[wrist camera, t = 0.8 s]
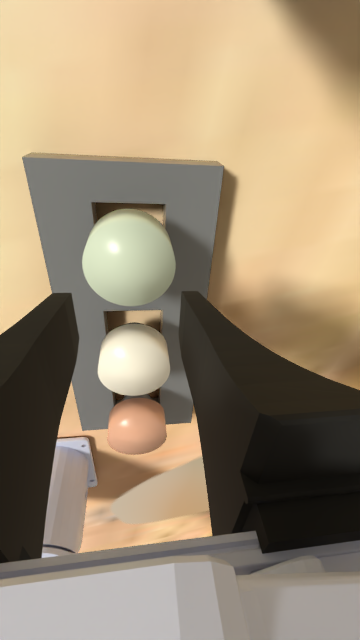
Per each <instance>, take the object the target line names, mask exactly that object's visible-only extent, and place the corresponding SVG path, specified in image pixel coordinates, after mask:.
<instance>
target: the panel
mask: <svg viewBox="0 0 360 640" xmlns="http://www.w3.org/2000/svg"><path fill="white" fill-rule="evenodd" d="M22 159H23V163H24V168H25V172H26V177H27V181H28V186H29V190H30V195H31V199H32V204H33V208H34V213H35V218H36V222H37V227H38V231H39V236H40V240H41V245H42V249H43V254H44V258H45V263H46V267H47V272H48V276H49V281H50V286H51V290H52V294H53V293H72V299H73V305H74V310H75V316H76V322H77V327H78V333H79V346H78V354H77V361H76V365H75V369H74V373H73V376H72V380H71V381H72V385H73V390H74V394H75V399H76V403H77V408H78V412H79V417H80V421H81V426H82V431H85V430H98V429H108V424H109V414H110V411H111V409H112V408H113V407H114V406H115V405H116V404H118V403H119V402H121V401H123V400H116V399H115V392H113V391H111V390H109V389H108V388H106V387H105V386H104V385H103V384H102V382H101V381H100V379H99V377H98V364H99V356H100V349H101V344H102V341H103V339H104V337H105V336H106V335H107V334H108V333H109V332H108V322H107V312H106V311H130V310H161V325H160V333H161V334H162V335H163V337H164V338H165V340H166V343H167V349H168V356H169V363H170V374H169V377H168V379H167V380H166V382H165V383H164V384H163V385H162V386H161V387H160V388H159V397H157V398H151V400H154V401H156V402H158V403H159V404H160V405H161V406H162V407H163V409H164V414H165V424H179V423H191V419H192V411H193V400H192V396H191V392H190V388H189V385H188V381H187V377H186V373H185V369H184V366H183V362H182V358H181V351H180V343H179V320H180V306H181V291H198V292H199V293H200V294H201V295H202V296H203V297H204V298H205V299H206V300H207V294H208V286H209V278H210V271H211V263H212V255H213V247H214V239H215V232H216V224H217V216H218V208H219V200H220V193H221V185H222V177H223V169H224V166H223V165H222V164H220V163H219V162H217V161H197V160H175V159H154V158H132V157H111V156H90V155H68V154H47V153H30V154H28V155H26V156H23V157H22ZM95 202H106V203H144V204H163V226H164V228H165V229H166V231H167V233H168V235H169V238H170V241H171V245H172V249H173V252H174V256H175V262H176V269H175V275H174V278H173V281H172V283H171V285H170V286H169V288H168V289H167V290H166V292H164V293H163V294H162V295H161V296H160V297H159V298H157V299H156V300H154V301H152V302H150V303H147V304H144V305H139V306H122V305H118V304H114V303H112V302H109V301H107V300H105V299H104V298H102V297H101V296H99V295H98V294H97V293H96V292H95V291H94V290H93V289H92V288H91V287H90V285H89V284H88V282H87V280H86V278H85V275H84V272H83V267H82V257H83V253H84V249H85V246H86V243H87V240H88V237H89V234H90V232H91V230H92V228H93V226H94V225H95V224H96V222H97V215H96V206H95Z"/></svg>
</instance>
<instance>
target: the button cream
mask: <svg viewBox="0 0 360 640" xmlns="http://www.w3.org/2000/svg"><path fill="white" fill-rule="evenodd" d="M169 374H170V363H169V356H168V349H167V343H166V340H165V338H164V337H163V335H162V334H161V333H160V332H159V331H157V330H156V329H154V328H152V327H150V326H147V325H143V324H141V323H128V324H126V325H122V326H119V327H117V328H115V329H113V330H112V331H110V332H109V333H108V334H107V335H106V336H105V337H104V339H103V341H102V344H101V349H100V356H99V364H98V377H99V379H100V381H101V382H102V384H103V385H104V386H105V387H106V388H108V389H109V390H111V391H113V392H115V393H118V394H122V395H128V396H137V395H143V394H147V393H150V392H153V391H155V390H156V389H158V388H160V387H161V386H162V385H163V384H164V383H165V382H166V380H167V379H168V377H169Z"/></svg>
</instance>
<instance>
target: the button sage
mask: <svg viewBox="0 0 360 640" xmlns="http://www.w3.org/2000/svg"><path fill="white" fill-rule="evenodd" d="M82 267H83V272H84V275H85V278H86V280H87V282H88V284H89V285H90V287H91V288H92V289H93V290H94V291H95V292H96V293H97V294H98V295H99V296H101V297H102V298H104V299H105V300H107V301H109V302H112V303H114V304H118V305H122V306H139V305H144V304H147V303H150V302H152V301H154V300H156V299H157V298H159V297H160V296H161V295H162V294H163V293H164V292H166V290H167V289H168V288H169V286H170V285H171V283H172V281H173V278H174V275H175V269H176V262H175V256H174V252H173V249H172V245H171V241H170V238H169V235H168V233H167V231H166V229H165V228H164V226H163V225H162V224H161V223H160V222H159V221H158V220H157V219H156V218H154V217H153V216H152V215H150V214H148V213H146V212H143V211H140V210H136V209H119V210H115V211H112V212H110V213H108V214H106V215H104V216H103V217H101V218H100V219H99V220H98V221H97V222H96V224H95V225H94V226H93V228H92V230H91V232H90V234H89V237H88V240H87V243H86V246H85V249H84V253H83V257H82Z"/></svg>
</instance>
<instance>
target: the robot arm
mask: <svg viewBox="0 0 360 640" xmlns="http://www.w3.org/2000/svg"><path fill="white" fill-rule="evenodd" d="M179 343H180V351H181V358H182V362H183V366H184V369H185V373H186V377H187V381H188V385H189V388H190V392H191V396H192V400H193V403H194V407H195V412H196V417H197V423H198V429H199V436H200V442H201V449H202V456H203V463H204V470H205V478H206V485H207V493H208V501H209V509H210V518H211V527H212V535H213V536H210V537H202V538H195V539H187V540H179V541H171V542H163V543H156V544H148V545H140V546H132V547H124V548H117V549H109V550H101V551H93V552H85V553H78V552H79V550H80V547H81V543H82V537H83V528H84V520H85V511H86V503H87V494H88V487H95V486H97V482H98V481H97V476H96V472H95V467H94V462H93V457H92V452H91V447H90V442H89V439H88V438H87V437H76V438H63V439H57V436H58V430H59V425H60V420H61V416H62V412H63V408H64V405H65V401H66V398H67V394H68V391H69V387H70V384H71V380H72V376H73V373H74V369H75V365H76V361H77V354H78V346H79V333H78V327H77V322H76V316H75V310H74V305H73V299H72V293H53V294H51V295H50V296H49V297H47V298H46V299H45V300H44V301H43V302H41V303H40V304H39V305H38V306H37V307H36V308H34V309H33V310H32V311H31V312H29V313H28V314H27V315H26V316H25V317H23V318H22V319H21V320H20V321H18V322H17V323H16V324H15V325H13V326H12V327H10V328H9V329H8V330H6V331H5V332H4V333H2V334H1V335H0V640H360V390H357V389H354V388H352V387H349V386H346V385H343V384H341V383H338V382H335V381H332V380H330V379H327V378H325V377H322V376H320V375H318V374H316V373H313V372H311V371H309V370H307V369H304V368H302V367H300V366H298V365H296V364H294V363H292V362H290V361H288V360H287V359H285V358H283V357H281V356H279V355H277V354H275V353H274V352H272V351H270V350H269V349H267V348H265V347H264V346H262V345H261V344H259V343H258V342H256V341H255V340H253V339H252V338H250V337H249V336H248V335H246V334H245V333H244V332H242V331H241V330H240V329H239V328H237V327H236V326H235V325H234V324H232V323H231V322H230V321H229V320H228V319H226V318H225V317H224V316H223V315H222V314H221V313H220V312H219V311H218V310H217V309H216V308H215V307H214V306H213V305H211V304H210V303H209V302H208V301H207V300H206V299H205V298H204V297H203V296H202V295H201V294H200V293H199V292H198V291H181V306H180V320H179Z"/></svg>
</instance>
